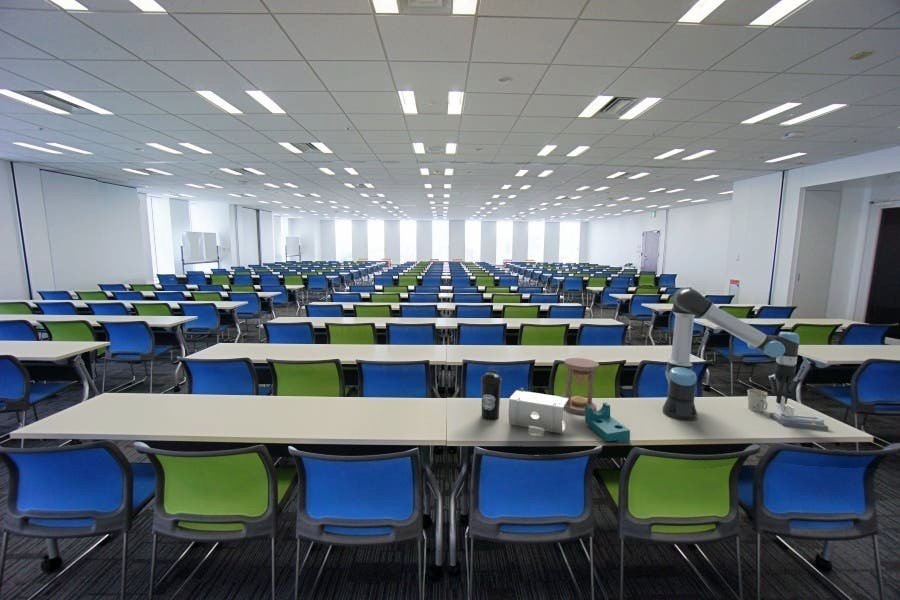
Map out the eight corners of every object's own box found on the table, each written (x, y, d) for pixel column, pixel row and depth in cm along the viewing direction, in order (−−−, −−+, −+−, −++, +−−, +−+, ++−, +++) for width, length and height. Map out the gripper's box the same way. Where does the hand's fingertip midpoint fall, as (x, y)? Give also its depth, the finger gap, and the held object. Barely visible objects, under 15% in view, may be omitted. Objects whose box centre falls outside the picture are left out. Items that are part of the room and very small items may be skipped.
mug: (758, 407, 205) (760, 389, 204) (775, 416, 192) (777, 398, 191) (741, 406, 206) (743, 388, 204) (758, 415, 193) (760, 397, 192)
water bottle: (477, 419, 183) (478, 373, 180) (483, 411, 192) (484, 368, 190) (497, 422, 179) (499, 376, 177) (502, 414, 189) (504, 370, 186)
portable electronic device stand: (505, 431, 170) (506, 399, 168) (516, 412, 192) (517, 383, 190) (563, 442, 161) (565, 408, 159) (567, 421, 183) (569, 390, 181)
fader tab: (785, 419, 184) (786, 406, 183) (779, 415, 188) (780, 403, 188) (793, 419, 183) (794, 407, 182) (786, 415, 188) (788, 403, 187)
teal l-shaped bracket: (585, 426, 179) (585, 405, 177) (606, 422, 181) (605, 402, 179) (607, 444, 161) (607, 421, 160) (629, 441, 163) (629, 418, 162)
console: (782, 425, 182) (783, 417, 181) (769, 416, 192) (770, 409, 192) (827, 430, 177) (828, 422, 177) (811, 420, 188) (812, 413, 187)
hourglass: (587, 401, 208) (590, 357, 206) (602, 414, 191) (605, 367, 188) (556, 401, 207) (559, 357, 205) (568, 414, 190) (571, 367, 187)
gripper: (774, 364, 181) (769, 411, 184) (807, 366, 178) (801, 414, 181) (766, 360, 188) (761, 405, 191) (796, 362, 185) (791, 408, 188)
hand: (780, 409), depth 186 cm, fingers closed
